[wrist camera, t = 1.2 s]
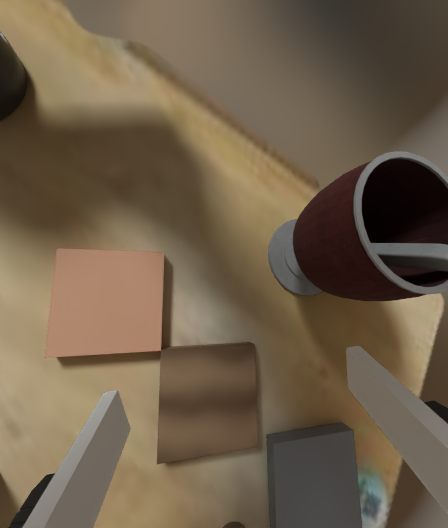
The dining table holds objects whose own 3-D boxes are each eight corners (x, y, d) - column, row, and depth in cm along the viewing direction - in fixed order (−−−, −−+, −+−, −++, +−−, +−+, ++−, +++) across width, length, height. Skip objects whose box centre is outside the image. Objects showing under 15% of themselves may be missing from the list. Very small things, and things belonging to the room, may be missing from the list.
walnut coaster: (161, 347, 28) (160, 350, 27) (249, 342, 31) (255, 345, 29) (157, 452, 27) (157, 464, 25) (252, 436, 29) (258, 446, 27)
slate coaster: (266, 434, 30) (273, 444, 28) (342, 422, 33) (353, 430, 31) (270, 540, 28) (277, 558, 26) (350, 518, 31) (362, 532, 29)
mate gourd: (245, 252, 33) (347, 186, 14) (301, 199, 37) (441, 91, 18) (312, 327, 34) (499, 363, 15) (361, 267, 38) (558, 234, 19)
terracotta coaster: (64, 251, 28) (56, 248, 26) (164, 255, 30) (164, 252, 28) (53, 353, 26) (44, 357, 24) (161, 347, 28) (160, 350, 27)
